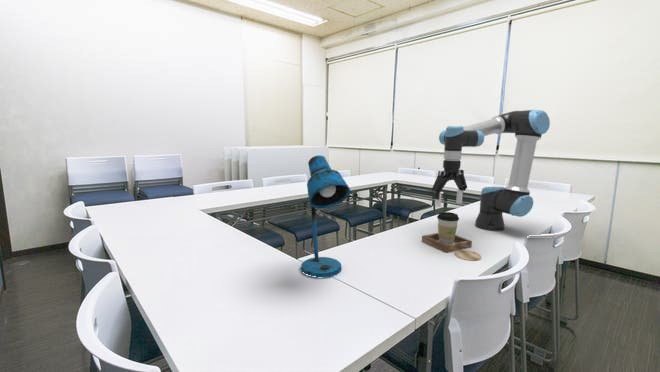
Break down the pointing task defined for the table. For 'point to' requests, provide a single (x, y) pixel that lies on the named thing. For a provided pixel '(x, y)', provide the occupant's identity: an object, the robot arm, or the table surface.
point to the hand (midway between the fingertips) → (448, 204)
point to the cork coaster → (468, 255)
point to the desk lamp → (323, 193)
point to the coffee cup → (447, 227)
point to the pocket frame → (431, 240)
